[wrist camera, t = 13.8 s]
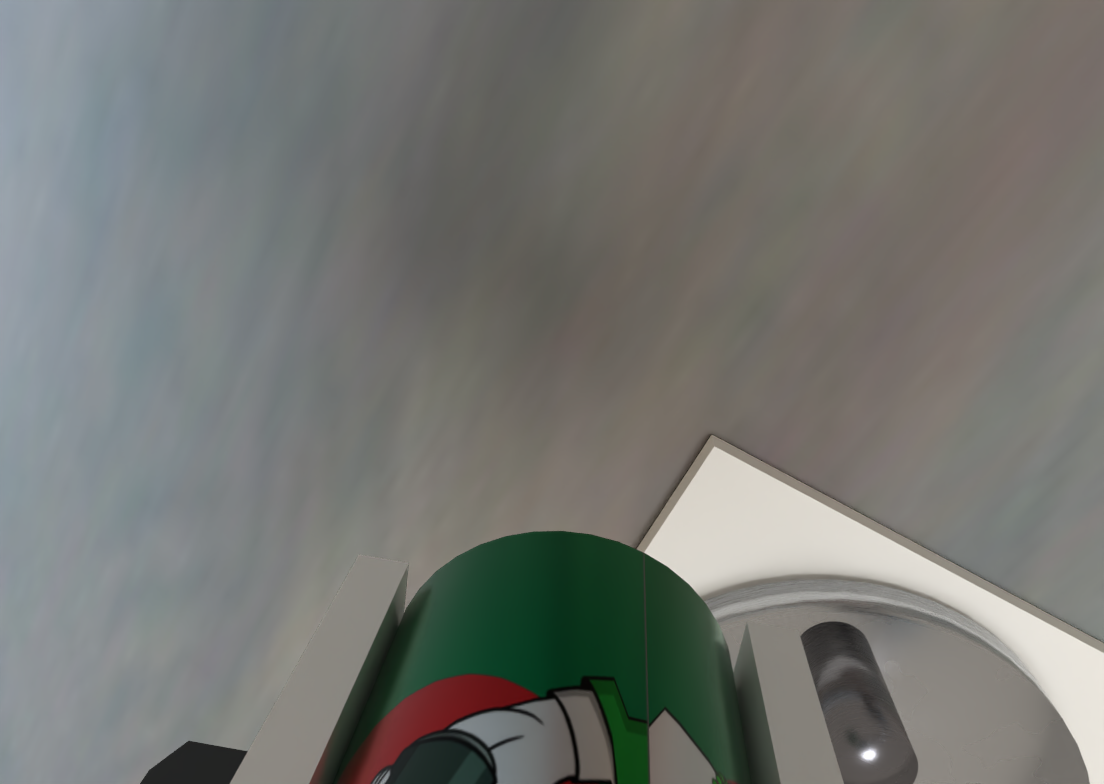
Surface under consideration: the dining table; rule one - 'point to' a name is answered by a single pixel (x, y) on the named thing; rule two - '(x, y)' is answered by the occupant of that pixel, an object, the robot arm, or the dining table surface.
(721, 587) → the base plate
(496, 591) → the soda can
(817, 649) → the turntable
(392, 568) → the robot arm
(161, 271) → the dining table surface
